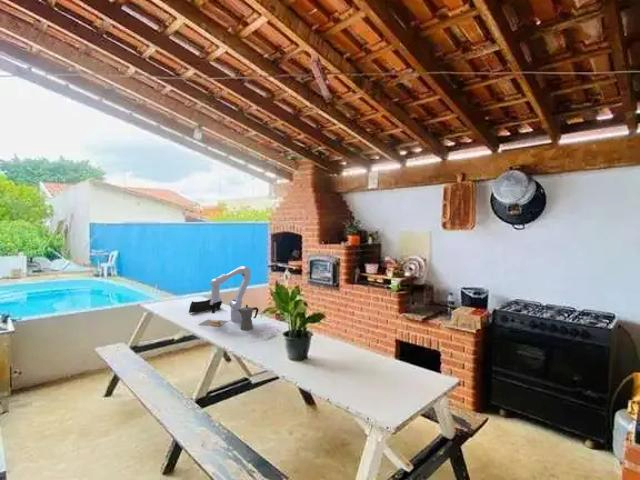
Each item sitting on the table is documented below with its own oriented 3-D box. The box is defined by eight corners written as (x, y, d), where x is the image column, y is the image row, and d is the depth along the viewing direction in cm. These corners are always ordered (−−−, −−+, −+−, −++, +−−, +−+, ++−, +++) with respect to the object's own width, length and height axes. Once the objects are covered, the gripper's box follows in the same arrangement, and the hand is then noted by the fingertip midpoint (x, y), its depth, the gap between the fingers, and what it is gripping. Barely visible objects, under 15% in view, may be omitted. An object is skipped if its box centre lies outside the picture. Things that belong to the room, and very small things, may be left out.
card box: (212, 323, 280) (212, 319, 280) (220, 324, 279) (220, 320, 279) (209, 325, 276) (209, 321, 276) (218, 325, 275) (218, 321, 275)
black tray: (187, 304, 305) (217, 289, 326) (185, 303, 307) (215, 288, 328) (193, 322, 310) (222, 306, 331) (191, 321, 312) (220, 305, 333)
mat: (228, 321, 288) (228, 320, 288) (219, 327, 272) (219, 326, 272) (207, 319, 291) (207, 319, 291) (197, 325, 276) (197, 325, 276)
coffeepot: (238, 331, 264) (238, 306, 263) (236, 327, 272) (236, 303, 271) (259, 329, 269) (259, 305, 268) (257, 325, 278) (257, 302, 277)
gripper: (215, 292, 288) (215, 309, 289) (206, 296, 274) (206, 314, 275) (223, 292, 287) (223, 309, 288) (214, 296, 272) (215, 314, 273)
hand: (215, 311), depth 281 cm, fingers open, 7 cm apart
